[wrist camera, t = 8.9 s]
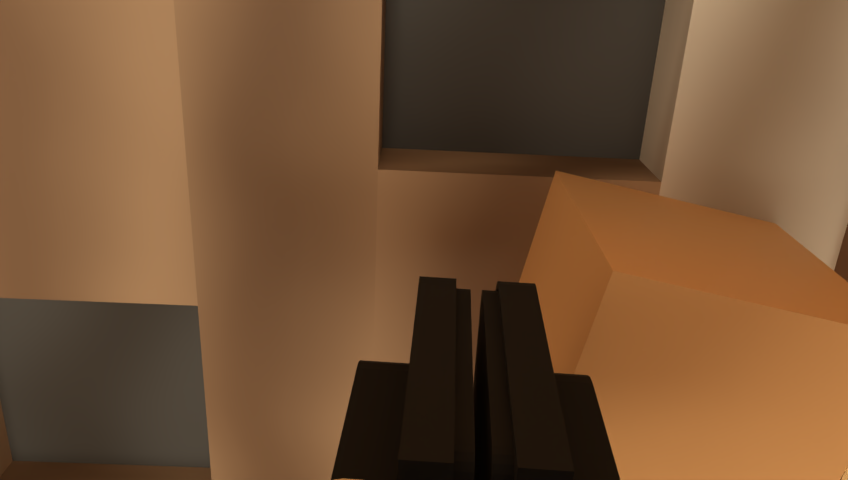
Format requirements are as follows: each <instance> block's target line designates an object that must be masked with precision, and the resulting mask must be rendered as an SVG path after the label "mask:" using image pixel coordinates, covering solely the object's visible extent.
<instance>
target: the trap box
mask: <svg viewBox="0 0 848 480" xmlns="http://www.w3.org/2000/svg"><path fill="white" fill-rule="evenodd" d="M555 171H560V172H564V173H568V174H572V175H576V176H581V177H585V178H589V179H593V180H597V181H601V182H605V183H610V184H614V185H618V186H622V187H626V188H630V189H635V190H639V191H643V192H647V193H651V194H655V195H659V196H664V197H668V198H672V199H676V200H680V201H684V202H688V203H693V204H697V205H701V206H705V207H709V208H713V209H717V210H722V211H726V212H730V213H734V214H738V215H742V216H746V217H751V218H755V219H759V220H763V221H767V222H771V223H775V224H777V225H778V226H779V227H781V228H782V229H783V230H784V231H785V232H787V233H788V234H789V235H790V236H792V237H793V238H794V239H795V240H797V241H798V242H799V243H800V244H801V245H803V246H804V247H805V248H806V249H808V250H809V251H810V252H811V253H813V254H814V255H815V256H816V257H817V258H819V259H820V260H821V261H822V262H824V263H825V264H826V265H827V266H829V267H830V268H831V269H832V270H833V271H835V272H836V273H837V274H838V275H840V276H841V277H842V278H843V279H845V280H846V281H847V282H848V0H0V480H331V476H332V472H333V468H334V463H335V459H336V455H337V450H338V446H339V442H340V438H341V433H342V429H343V425H344V420H345V416H346V412H347V408H348V403H349V399H350V395H351V390H352V386H353V382H354V377H355V373H356V369H357V365H358V362H359V361H360V360H364V361H380V362H395V363H409V362H410V353H411V345H412V336H413V327H414V319H415V310H416V302H417V293H418V284H419V276H423V277H439V278H455V279H456V288H458V289H471V320H472V357H473V383H474V371H475V360H476V349H477V337H478V326H479V315H480V303H481V294H482V290H490V291H495V290H496V284H497V281H503V282H519V280H520V277H521V274H522V271H523V268H524V265H525V262H526V259H527V256H528V253H529V250H530V247H531V244H532V241H533V238H534V235H535V232H536V229H537V226H538V223H539V220H540V217H541V214H542V211H543V208H544V205H545V202H546V199H547V195H548V192H549V189H550V186H551V183H552V180H553V177H554V174H555ZM842 476H843V475H842ZM841 479H842V477H841ZM841 479H840V480H841Z"/></svg>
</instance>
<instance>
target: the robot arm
mask: <svg viewBox="0 0 848 480" xmlns="http://www.w3.org/2000/svg"><path fill="white" fill-rule="evenodd" d="M331 480H620V477H619V473H618V470H617V466H616V463H615V459H614V456H613V452H612V449H611V445H610V442H609V438H608V435H607V431H606V428H605V424H604V421H603V417H602V414H601V410H600V407H599V403H598V400H597V396H596V393H595V389H594V386H593V383H592V380H591V378H590V376H588V375H579V374H564V373H554V370H553V366H552V361H551V356H550V351H549V346H548V341H547V337H546V332H545V327H544V322H543V317H542V312H541V308H540V303H539V298H538V293H537V288H536V285H535V283H519V282H503V281H497V284H496V290H495V291H490V290H482V294H481V303H480V315H479V326H478V337H477V349H476V360H475V371H474V383H473V357H472V320H471V289H458V288H456V279H455V278H439V277H423V276H419V284H418V293H417V302H416V310H415V319H414V327H413V336H412V345H411V353H410V362H409V363H395V362H380V361H364V360H360V361H359V362H358V365H357V369H356V373H355V377H354V382H353V386H352V390H351V395H350V399H349V403H348V408H347V412H346V416H345V420H344V425H343V429H342V433H341V438H340V442H339V446H338V450H337V455H336V459H335V463H334V468H333V472H332V476H331Z"/></svg>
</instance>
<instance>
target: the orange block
mask: <svg viewBox="0 0 848 480" xmlns="http://www.w3.org/2000/svg"><path fill="white" fill-rule="evenodd" d="M519 283H535V285H536V288H537V293H538V298H539V303H540V308H541V312H542V317H543V322H544V327H545V332H546V337H547V341H548V346H549V351H550V356H551V361H552V366H553V370H554V373H564V374H579V375H588V376H590V378H591V380H592V383H593V386H594V389H595V393H596V396H597V400H598V403H599V407H600V410H601V414H602V417H603V421H604V424H605V428H606V431H607V435H608V438H609V442H610V445H611V449H612V452H613V456H614V459H615V463H616V466H617V470H618V473H619V477H620V480H840V479H841V477H842V475H843V474H844V472H845V470H846V469H847V467H848V282H847V281H846V280H845V279H843V278H842V277H841V276H840V275H838V274H837V273H836V272H835V271H833V270H832V269H831V268H830V267H829V266H827V265H826V264H825V263H824V262H822V261H821V260H820V259H819V258H817V257H816V256H815V255H814V254H813V253H811V252H810V251H809V250H808V249H806V248H805V247H804V246H803V245H801V244H800V243H799V242H798V241H797V240H795V239H794V238H793V237H792V236H790V235H789V234H788V233H787V232H785V231H784V230H783V229H782V228H781V227H779V226H778V225H777V224H775V223H771V222H767V221H763V220H759V219H755V218H751V217H746V216H742V215H738V214H734V213H730V212H726V211H722V210H717V209H713V208H709V207H705V206H701V205H697V204H693V203H688V202H684V201H680V200H676V199H672V198H668V197H664V196H659V195H655V194H651V193H647V192H643V191H639V190H635V189H630V188H626V187H622V186H618V185H614V184H610V183H605V182H601V181H597V180H593V179H589V178H585V177H581V176H576V175H572V174H568V173H564V172H560V171H555V174H554V177H553V180H552V183H551V186H550V189H549V192H548V195H547V199H546V202H545V205H544V208H543V211H542V214H541V217H540V220H539V223H538V226H537V229H536V232H535V235H534V238H533V241H532V244H531V247H530V250H529V253H528V256H527V259H526V262H525V265H524V268H523V271H522V274H521V277H520V280H519Z"/></svg>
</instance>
